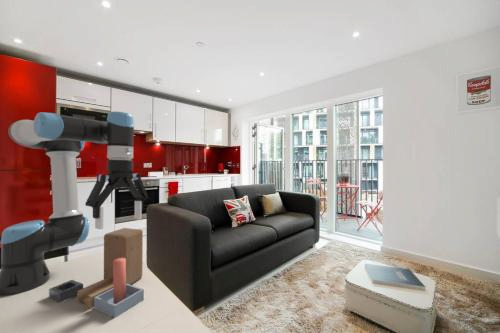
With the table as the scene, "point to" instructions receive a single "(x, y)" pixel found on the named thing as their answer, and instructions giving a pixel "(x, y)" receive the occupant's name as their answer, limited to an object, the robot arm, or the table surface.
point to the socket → (65, 290)
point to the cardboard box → (93, 292)
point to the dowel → (119, 280)
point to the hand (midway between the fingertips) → (120, 223)
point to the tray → (108, 307)
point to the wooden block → (124, 252)
